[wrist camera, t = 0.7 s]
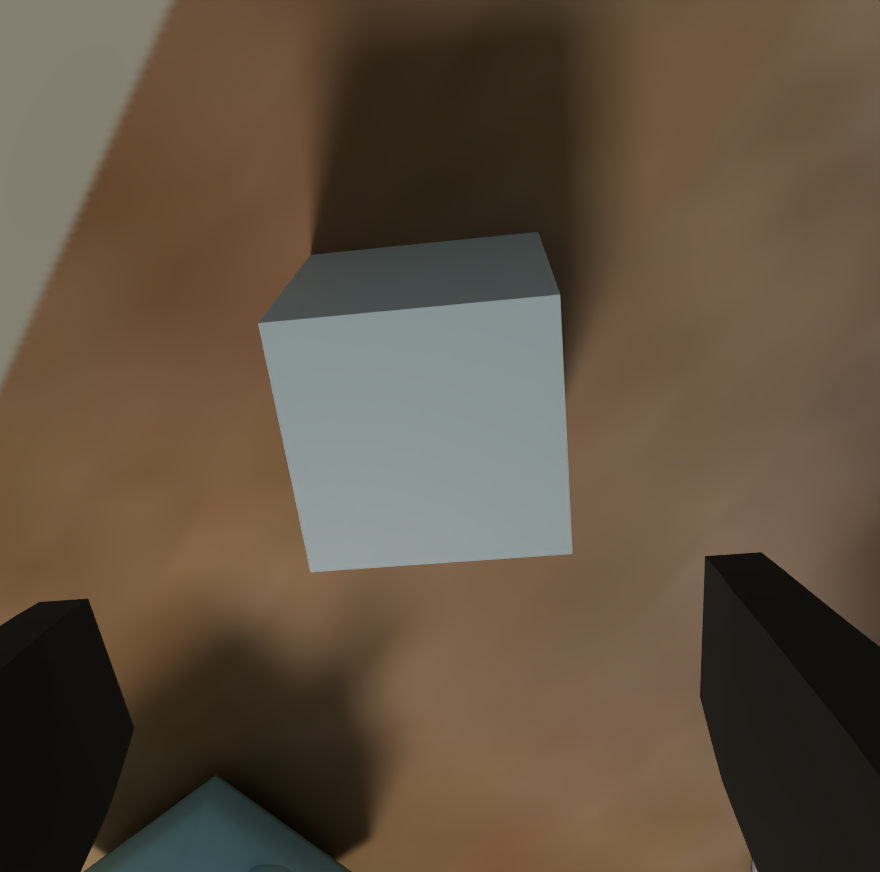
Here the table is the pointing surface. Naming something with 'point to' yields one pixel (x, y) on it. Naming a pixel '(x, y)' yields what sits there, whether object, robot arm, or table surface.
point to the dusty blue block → (423, 403)
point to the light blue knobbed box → (216, 839)
